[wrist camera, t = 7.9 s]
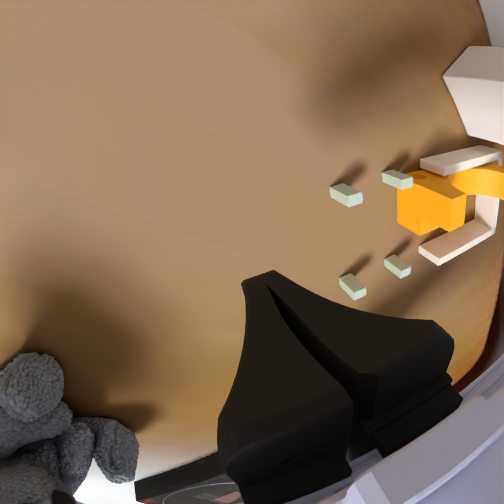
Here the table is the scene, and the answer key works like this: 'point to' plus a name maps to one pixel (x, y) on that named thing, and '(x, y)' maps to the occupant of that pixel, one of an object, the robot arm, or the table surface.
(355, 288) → the small blocks
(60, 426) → the koala plush
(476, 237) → the end holder
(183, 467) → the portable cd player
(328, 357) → the robot arm
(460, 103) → the milk carton
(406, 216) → the pipe clamp
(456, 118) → the table surface
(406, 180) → the clips
